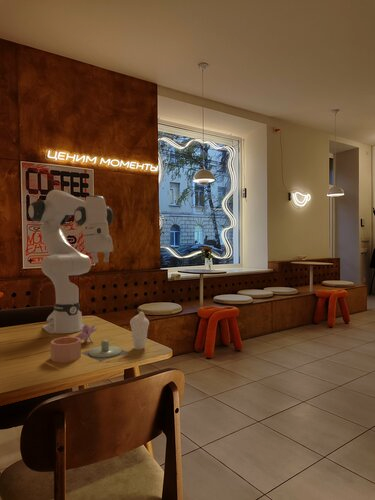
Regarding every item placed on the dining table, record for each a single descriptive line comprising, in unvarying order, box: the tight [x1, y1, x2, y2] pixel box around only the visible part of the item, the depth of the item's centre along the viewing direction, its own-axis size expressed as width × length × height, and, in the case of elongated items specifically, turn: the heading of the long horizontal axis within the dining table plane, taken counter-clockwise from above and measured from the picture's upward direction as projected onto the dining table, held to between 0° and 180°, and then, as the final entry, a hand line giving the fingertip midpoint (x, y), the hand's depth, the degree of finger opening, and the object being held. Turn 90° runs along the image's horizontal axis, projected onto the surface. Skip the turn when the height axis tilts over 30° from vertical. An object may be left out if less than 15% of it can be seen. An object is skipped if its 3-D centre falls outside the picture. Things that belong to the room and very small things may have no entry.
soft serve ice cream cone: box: [129, 311, 150, 350], centre depth 153 cm, size 8×8×16 cm
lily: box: [75, 323, 97, 345], centre depth 158 cm, size 12×12×10 cm
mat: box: [81, 344, 130, 362], centre depth 146 cm, size 14×14×1 cm
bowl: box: [50, 336, 82, 364], centre depth 140 cm, size 11×11×7 cm
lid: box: [88, 339, 122, 358], centre depth 146 cm, size 13×13×5 cm
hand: (101, 262), depth 157 cm, fingers open, 8 cm apart
